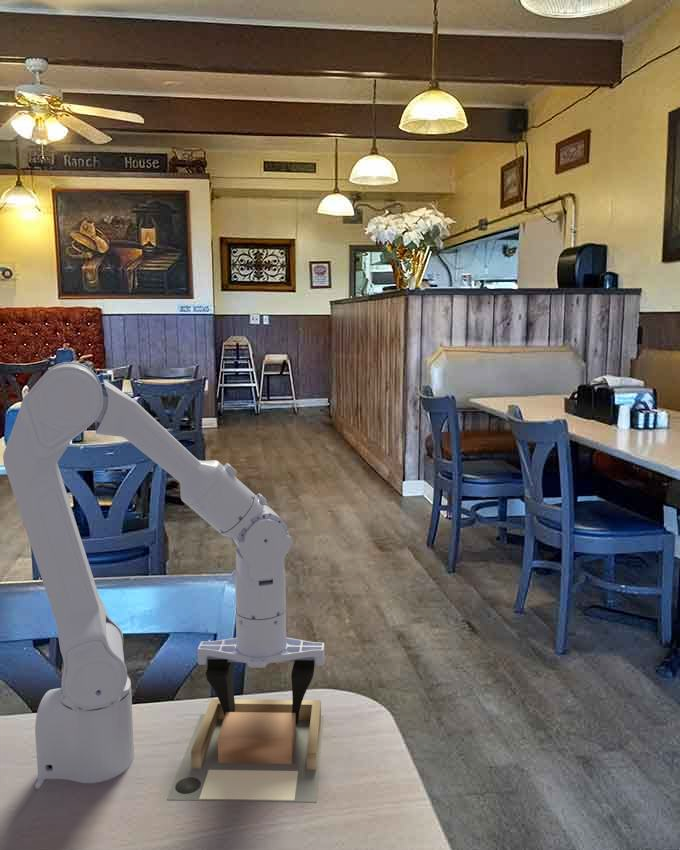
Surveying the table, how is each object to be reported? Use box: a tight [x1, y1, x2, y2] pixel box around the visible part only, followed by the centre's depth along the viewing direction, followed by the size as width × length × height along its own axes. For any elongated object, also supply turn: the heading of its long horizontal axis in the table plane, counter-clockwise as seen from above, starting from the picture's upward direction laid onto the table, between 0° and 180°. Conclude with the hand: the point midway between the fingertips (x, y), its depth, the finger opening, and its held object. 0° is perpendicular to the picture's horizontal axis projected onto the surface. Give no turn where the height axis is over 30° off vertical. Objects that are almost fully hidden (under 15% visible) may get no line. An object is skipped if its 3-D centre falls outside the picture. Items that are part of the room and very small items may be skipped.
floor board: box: [166, 713, 324, 803], centre depth 78 cm, size 15×16×1 cm
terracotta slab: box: [218, 712, 296, 764], centre depth 78 cm, size 8×5×3 cm, turn 89°
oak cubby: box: [191, 698, 322, 770], centre depth 80 cm, size 13×10×2 cm
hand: (262, 719), depth 82 cm, fingers open, 7 cm apart
